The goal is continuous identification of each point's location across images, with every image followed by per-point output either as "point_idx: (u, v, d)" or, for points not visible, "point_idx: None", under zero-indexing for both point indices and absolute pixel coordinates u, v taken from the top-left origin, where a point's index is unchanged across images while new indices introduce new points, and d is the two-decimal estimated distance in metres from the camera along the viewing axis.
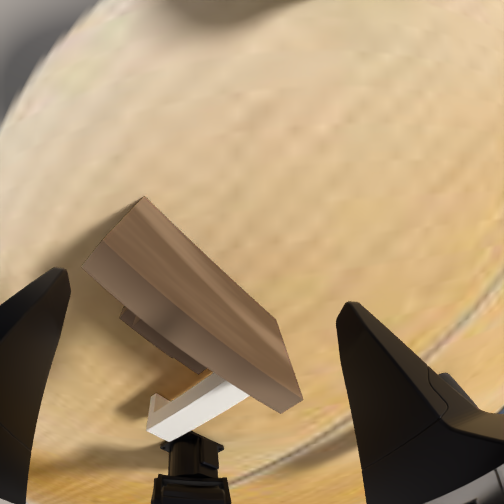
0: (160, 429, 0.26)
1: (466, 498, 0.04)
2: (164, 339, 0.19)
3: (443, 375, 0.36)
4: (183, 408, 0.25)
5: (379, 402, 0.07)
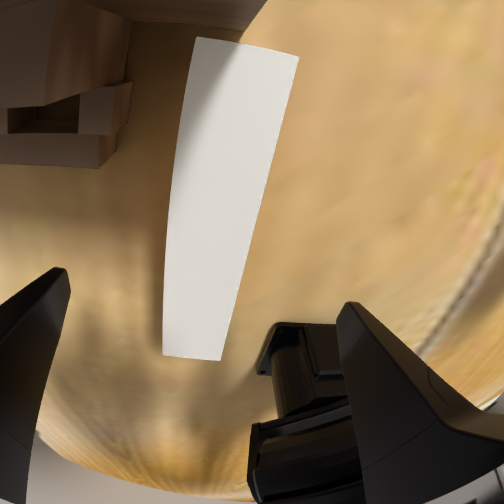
0: (179, 341, 0.14)
1: (466, 498, 0.04)
2: None
3: None
4: (165, 263, 0.11)
5: (379, 402, 0.07)
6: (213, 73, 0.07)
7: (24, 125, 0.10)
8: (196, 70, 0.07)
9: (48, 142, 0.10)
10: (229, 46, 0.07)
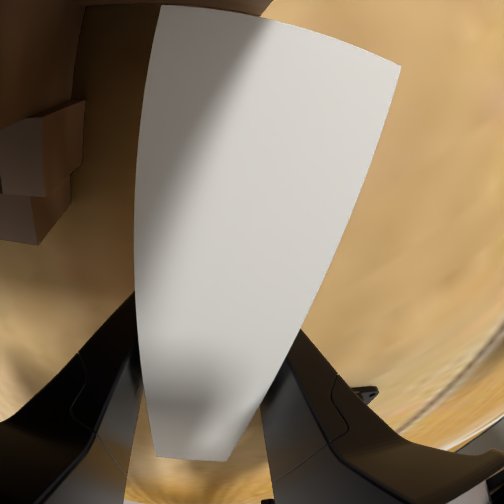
0: (175, 450, 0.09)
1: None
2: None
3: None
4: (145, 397, 0.07)
5: (279, 411, 0.07)
6: (204, 94, 0.03)
7: None
8: (162, 87, 0.03)
9: None
10: (244, 26, 0.03)
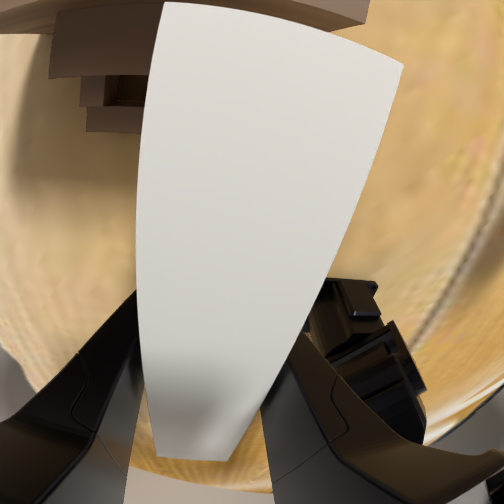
0: (175, 449, 0.09)
1: None
2: (94, 56, 0.09)
3: None
4: (147, 396, 0.07)
5: (279, 411, 0.07)
6: (207, 91, 0.03)
7: (112, 102, 0.15)
8: (165, 84, 0.03)
9: (143, 114, 0.14)
10: (247, 23, 0.03)
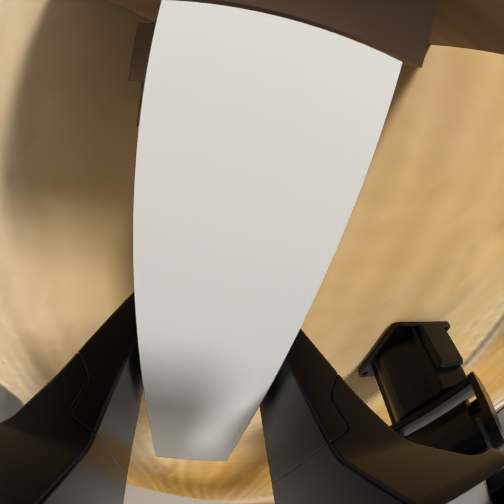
0: (175, 449, 0.09)
1: None
2: None
3: None
4: (145, 396, 0.07)
5: (279, 411, 0.07)
6: (204, 89, 0.03)
7: None
8: (162, 82, 0.03)
9: None
10: (244, 21, 0.03)
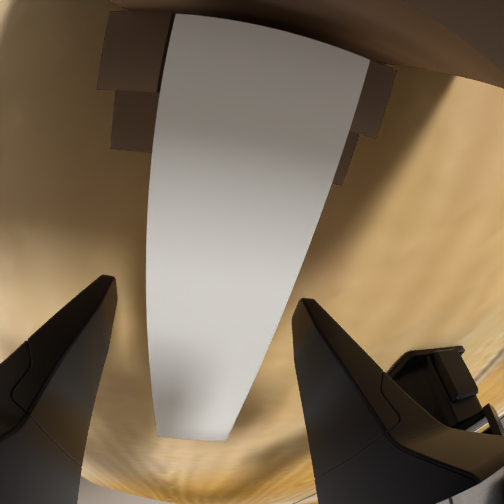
0: (175, 427, 0.10)
1: None
2: None
3: None
4: (150, 365, 0.08)
5: (328, 408, 0.07)
6: (209, 84, 0.04)
7: None
8: (176, 79, 0.04)
9: None
10: (240, 31, 0.03)
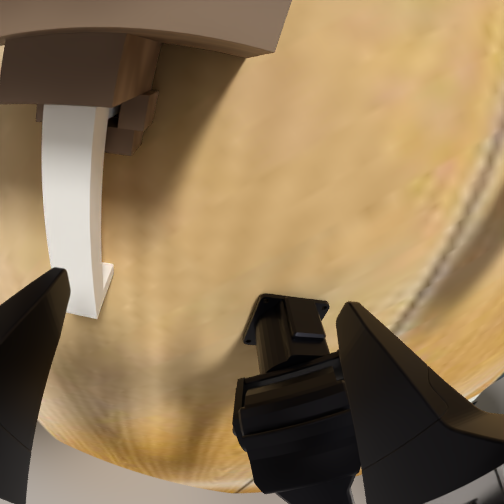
0: None
1: (466, 498, 0.04)
2: (34, 85, 0.08)
3: None
4: (47, 241, 0.15)
5: (379, 402, 0.07)
6: (53, 125, 0.11)
7: None
8: (45, 124, 0.11)
9: None
10: (59, 108, 0.11)
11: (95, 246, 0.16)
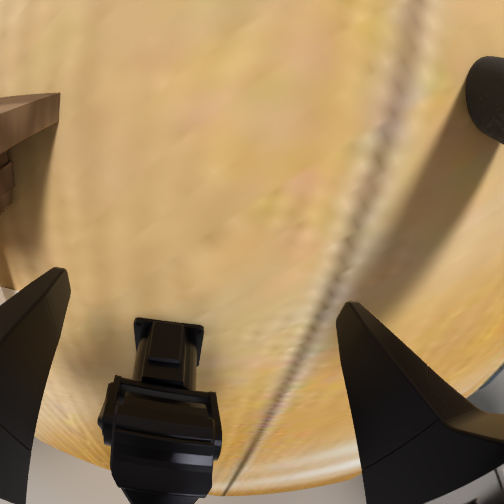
0: None
1: (466, 498, 0.04)
2: None
3: (486, 57, 0.14)
4: None
5: (379, 402, 0.07)
6: None
7: None
8: None
9: None
10: None
11: None
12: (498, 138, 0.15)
